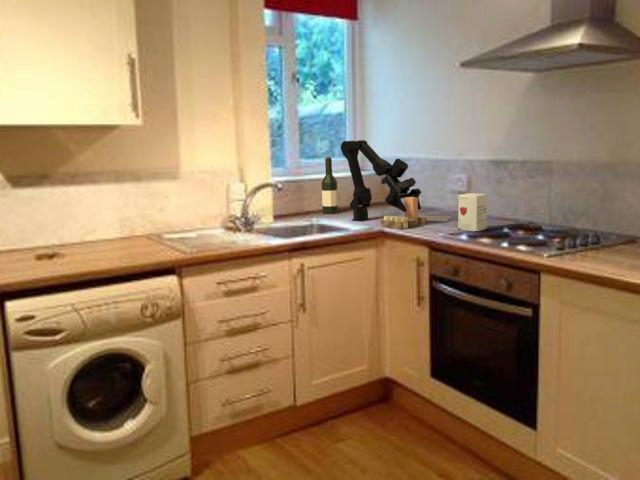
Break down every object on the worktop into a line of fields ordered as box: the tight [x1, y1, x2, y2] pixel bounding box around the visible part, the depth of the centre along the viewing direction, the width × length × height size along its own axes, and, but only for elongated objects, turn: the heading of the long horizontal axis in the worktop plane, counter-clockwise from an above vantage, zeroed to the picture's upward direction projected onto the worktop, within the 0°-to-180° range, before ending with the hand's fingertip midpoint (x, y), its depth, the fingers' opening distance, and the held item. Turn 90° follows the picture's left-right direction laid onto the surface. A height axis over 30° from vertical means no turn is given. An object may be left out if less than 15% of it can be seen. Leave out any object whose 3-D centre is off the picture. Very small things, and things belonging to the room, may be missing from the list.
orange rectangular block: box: [404, 197, 419, 219], centre depth 270 cm, size 5×3×12 cm, turn 39°
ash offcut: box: [383, 215, 398, 221], centre depth 267 cm, size 5×3×4 cm, turn 39°
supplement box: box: [457, 192, 488, 232], centre depth 256 cm, size 9×9×15 cm
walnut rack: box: [381, 217, 427, 230], centre depth 268 cm, size 12×16×4 cm
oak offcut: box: [395, 216, 409, 230], centre depth 262 cm, size 5×3×4 cm, turn 39°
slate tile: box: [418, 215, 453, 223], centre depth 284 cm, size 20×14×2 cm
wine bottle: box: [321, 156, 339, 215], centre depth 324 cm, size 8×8×30 cm
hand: (413, 210), depth 269 cm, fingers open, 9 cm apart
